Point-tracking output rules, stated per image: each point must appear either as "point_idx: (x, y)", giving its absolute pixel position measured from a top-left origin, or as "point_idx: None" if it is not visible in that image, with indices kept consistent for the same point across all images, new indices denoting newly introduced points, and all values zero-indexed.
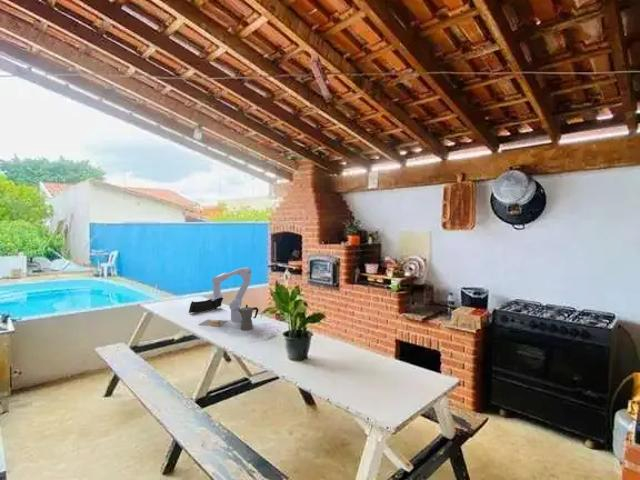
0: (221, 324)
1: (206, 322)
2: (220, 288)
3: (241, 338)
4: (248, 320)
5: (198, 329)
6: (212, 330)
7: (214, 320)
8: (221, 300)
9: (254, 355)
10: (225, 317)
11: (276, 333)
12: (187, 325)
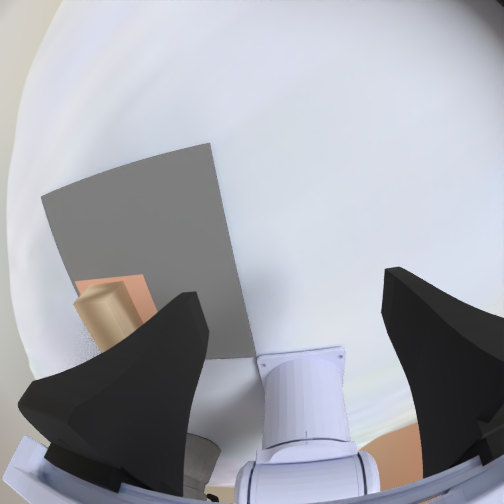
0: None
1: (117, 211)
2: None
3: None
4: None
5: (21, 261)
6: (63, 341)
7: (107, 328)
8: (421, 433)
9: None
10: (373, 265)
11: (206, 484)
12: (21, 123)
